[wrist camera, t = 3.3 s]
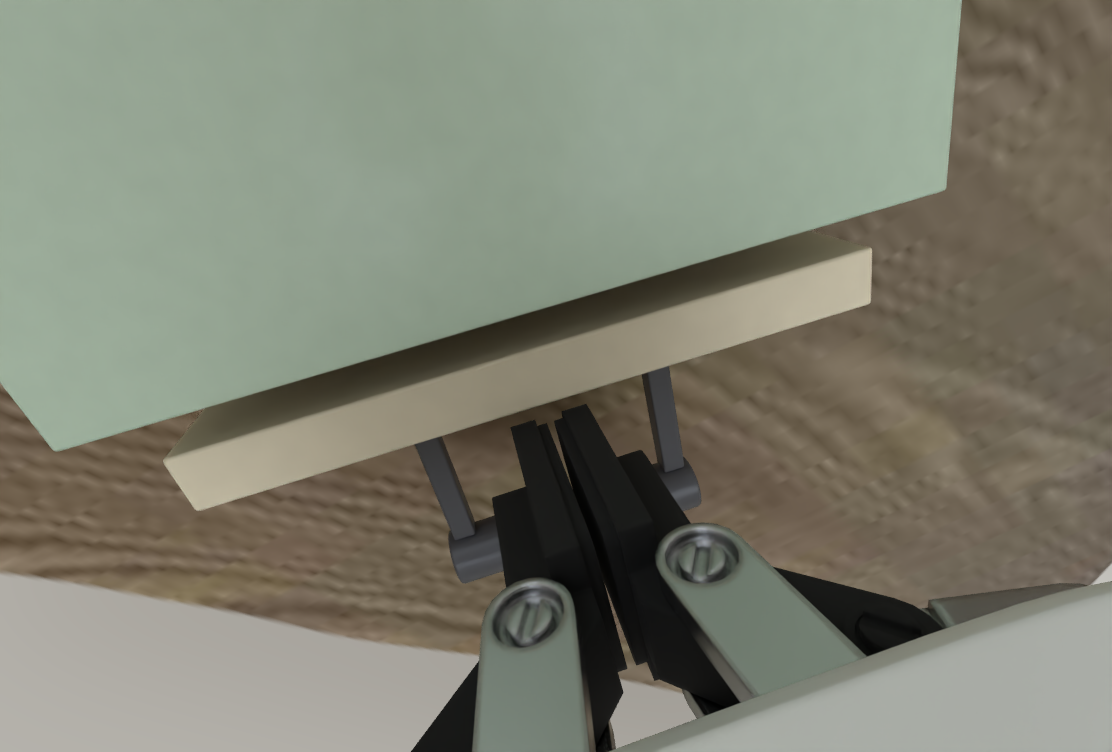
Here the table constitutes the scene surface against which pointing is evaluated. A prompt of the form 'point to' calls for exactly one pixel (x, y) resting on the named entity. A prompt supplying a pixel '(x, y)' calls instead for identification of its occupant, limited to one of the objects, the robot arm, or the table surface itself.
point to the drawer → (519, 380)
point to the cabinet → (411, 171)
